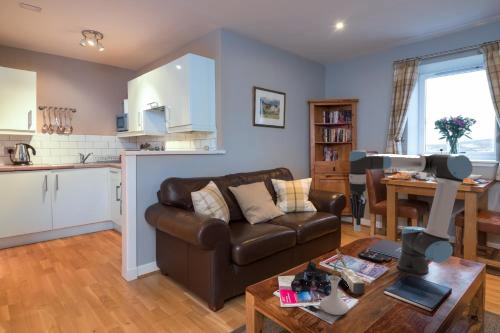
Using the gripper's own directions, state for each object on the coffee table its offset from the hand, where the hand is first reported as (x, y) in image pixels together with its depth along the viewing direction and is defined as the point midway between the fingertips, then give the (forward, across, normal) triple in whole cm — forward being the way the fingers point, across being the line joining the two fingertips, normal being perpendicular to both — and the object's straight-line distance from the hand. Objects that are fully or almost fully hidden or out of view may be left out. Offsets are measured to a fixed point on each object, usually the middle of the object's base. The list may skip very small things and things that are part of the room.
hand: (357, 230), depth 139 cm
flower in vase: (+27, +19, -20) cm, 38 cm away
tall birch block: (+24, +9, -3) cm, 26 cm away
